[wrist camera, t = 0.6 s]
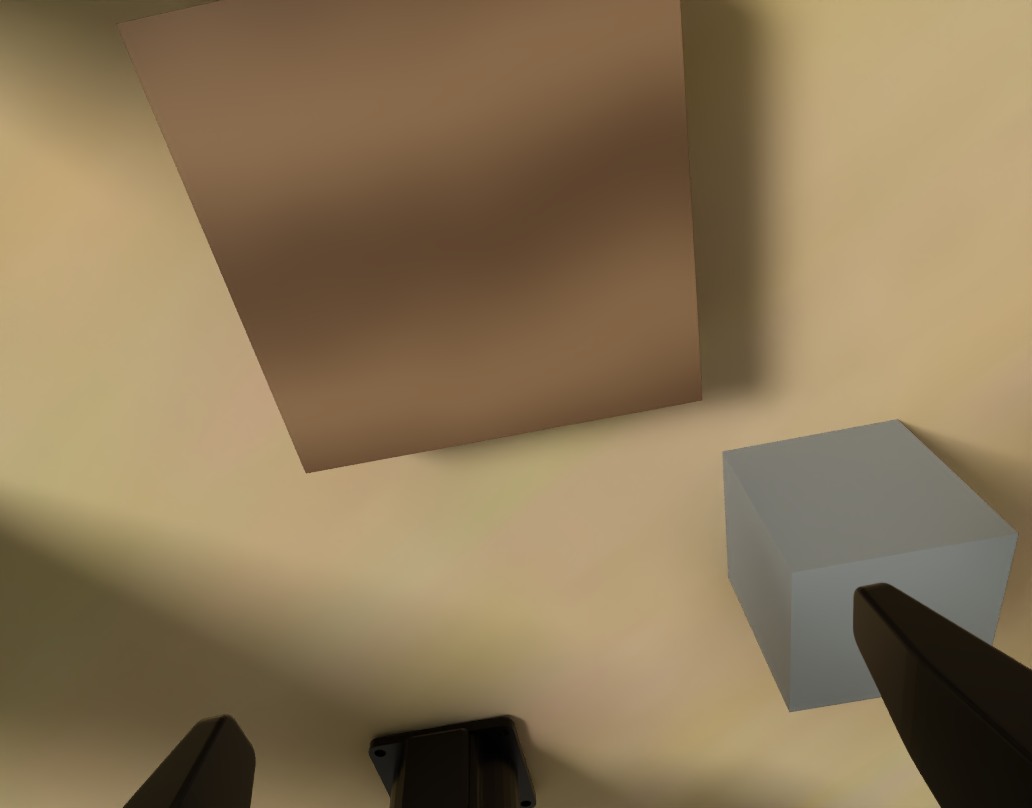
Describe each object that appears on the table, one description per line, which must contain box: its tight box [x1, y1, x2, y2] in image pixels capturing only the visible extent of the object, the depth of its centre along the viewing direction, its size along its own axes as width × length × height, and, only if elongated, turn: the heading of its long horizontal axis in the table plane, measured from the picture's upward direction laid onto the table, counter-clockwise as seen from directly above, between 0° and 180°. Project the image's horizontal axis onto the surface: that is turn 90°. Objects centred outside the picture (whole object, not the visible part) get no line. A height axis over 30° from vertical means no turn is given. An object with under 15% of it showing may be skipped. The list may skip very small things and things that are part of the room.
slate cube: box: [723, 419, 1019, 712], centre depth 22 cm, size 6×6×6 cm
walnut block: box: [116, 0, 702, 473], centre depth 17 cm, size 11×11×4 cm
